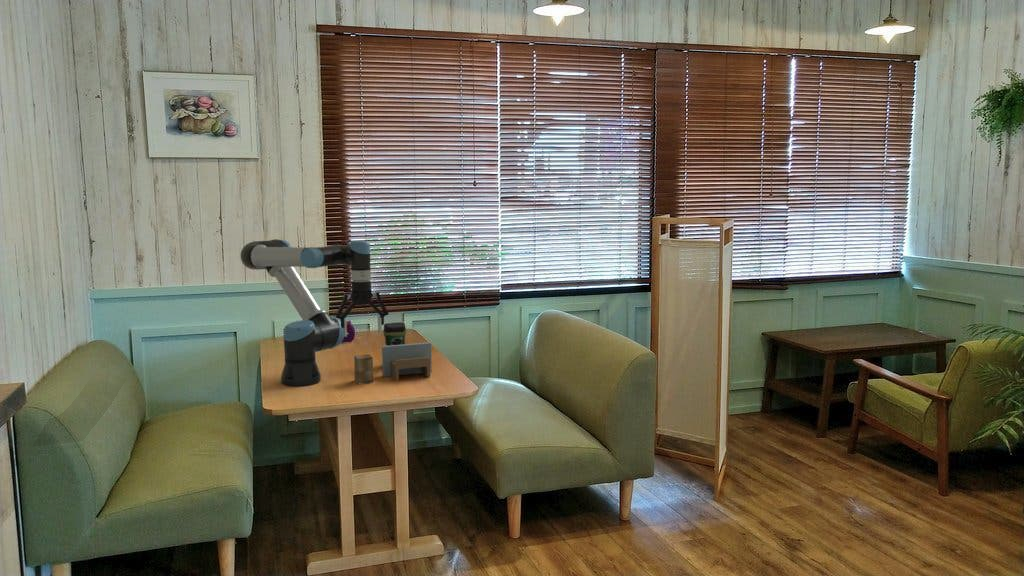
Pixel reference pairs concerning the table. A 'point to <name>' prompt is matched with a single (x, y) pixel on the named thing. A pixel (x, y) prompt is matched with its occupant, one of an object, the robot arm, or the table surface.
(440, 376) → the table surface
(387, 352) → the wall board
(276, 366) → the table surface
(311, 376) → the robot arm
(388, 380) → the table surface
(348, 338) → the mounting bracket
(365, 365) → the brown cylinder
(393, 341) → the coffee jar
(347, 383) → the table surface
